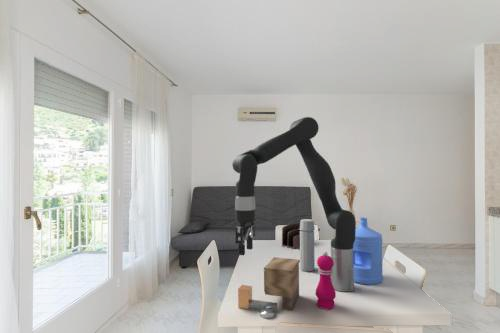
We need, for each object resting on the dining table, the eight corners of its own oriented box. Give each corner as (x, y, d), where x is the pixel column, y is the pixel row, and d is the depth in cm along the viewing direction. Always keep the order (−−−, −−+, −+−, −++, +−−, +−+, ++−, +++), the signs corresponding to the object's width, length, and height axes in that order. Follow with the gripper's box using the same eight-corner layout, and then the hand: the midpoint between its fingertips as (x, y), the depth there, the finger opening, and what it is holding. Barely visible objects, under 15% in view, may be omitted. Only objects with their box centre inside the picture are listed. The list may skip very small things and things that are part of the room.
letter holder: (281, 247, 203) (281, 225, 203) (299, 242, 217) (299, 221, 217) (293, 249, 196) (293, 227, 196) (311, 244, 210) (311, 223, 210)
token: (273, 312, 109) (273, 308, 109) (275, 319, 104) (275, 314, 104) (259, 312, 109) (259, 308, 109) (260, 319, 104) (260, 315, 104)
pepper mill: (332, 301, 118) (331, 248, 118) (338, 309, 110) (337, 253, 111) (313, 301, 117) (313, 249, 118) (318, 310, 110) (317, 254, 110)
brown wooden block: (300, 295, 123) (299, 259, 124) (292, 311, 110) (292, 270, 110) (274, 292, 127) (273, 257, 127) (263, 306, 113) (263, 267, 113)
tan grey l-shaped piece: (277, 308, 112) (277, 289, 112) (274, 313, 108) (274, 293, 108) (242, 303, 116) (242, 284, 116) (238, 307, 113) (238, 288, 113)
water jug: (365, 271, 151) (365, 214, 152) (390, 282, 137) (390, 219, 137) (339, 276, 146) (338, 216, 146) (362, 287, 131) (361, 221, 132)
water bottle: (315, 272, 151) (314, 221, 151) (299, 271, 152) (298, 221, 153) (315, 266, 160) (314, 218, 160) (299, 266, 161) (299, 218, 162)
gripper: (248, 211, 107) (249, 258, 106) (260, 206, 120) (261, 248, 120) (228, 210, 109) (229, 256, 109) (242, 205, 123) (243, 246, 122)
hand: (245, 252), depth 114 cm, fingers open, 8 cm apart
